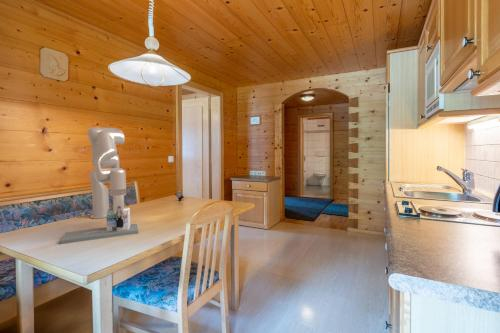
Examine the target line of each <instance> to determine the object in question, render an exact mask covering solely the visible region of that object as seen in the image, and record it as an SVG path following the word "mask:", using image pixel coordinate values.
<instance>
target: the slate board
mask: <svg viewBox="0 0 500 333" xmlns="http://www.w3.org/2000/svg"><path fill="white" fill-rule="evenodd" d="M134 234H135V235H137V234H139V228H138V223H133V224H132V223H130V228H129V230H121V231H109V232H107V227H99V228H91V229H84V230H76V231H67V232H65V233H64V234H63V236H62V237H61V238H60V241H59V244H60V245H64V244H70V243H77V242H85V241H90V240H98V239H99V240H100V239H107V238H108V239H109V238H115V237H120V236H122V237H123V236H128V235H129V236H130V235H134Z"/></svg>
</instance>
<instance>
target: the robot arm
mask: <svg viewBox="0 0 500 333" xmlns="http://www.w3.org/2000/svg"><path fill="white" fill-rule="evenodd" d="M87 137H88V141H89V143H90V145H91V165H92V166H93V167H94V168H93V169H91V170H90V171H89V174H88V176H89V181H90V186H91V200H92V214H91V215H90V216H89V217H90V218H91V219H95V220H97V219H107V211H108V210H109V209H110V200H109V199H110V197H109V195H110V196H111V197H112V209H113V214H114V215H115V214H116V215H117V220H116V227H123V219H122V214H123V213H124V208H125V196H126V195H127V177H126V175H127V174H126V170H125V169H123V168H122V167H120V156H119V154H118V148H117V145H124V144H125V141H126V135H125V134H124V132H123V131H122V129H120V128H117V127H103V126H102V127H100V126H96V127H95V126H93V127H90V128H88V129H87ZM107 183H108V184H110V185H109V187H110V194H109V188H108V187H107V186H106V185H105V184H107ZM120 208H121V210H120ZM117 213H118V214H117Z"/></svg>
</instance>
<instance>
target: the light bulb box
mask: <svg viewBox="0 0 500 333" xmlns="http://www.w3.org/2000/svg"><path fill="white" fill-rule="evenodd" d="M120 210H121V208H120ZM117 214H118V213H117ZM122 219H123V227H116V220H117V215H116V214H115V215H114V214H113V208H109V210H108V211H107V217H106V228H107V232H109V231H121V230H129V228H130V225H131V209H130V207H124V213H123V214H122Z"/></svg>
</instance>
